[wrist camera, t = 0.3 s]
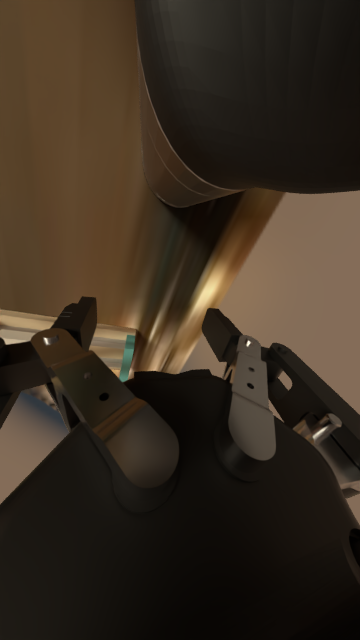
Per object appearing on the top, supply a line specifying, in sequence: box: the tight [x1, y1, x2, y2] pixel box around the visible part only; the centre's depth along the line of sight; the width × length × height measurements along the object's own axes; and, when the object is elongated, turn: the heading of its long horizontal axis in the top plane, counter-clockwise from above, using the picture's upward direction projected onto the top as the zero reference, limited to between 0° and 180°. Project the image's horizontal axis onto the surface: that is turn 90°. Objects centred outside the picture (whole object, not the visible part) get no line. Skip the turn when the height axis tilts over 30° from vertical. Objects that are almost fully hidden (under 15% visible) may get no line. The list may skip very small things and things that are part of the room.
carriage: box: [0, 329, 36, 345], centre depth 22 cm, size 7×6×13 cm
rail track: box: [0, 309, 136, 382], centre depth 29 cm, size 10×23×6 cm, turn 73°
